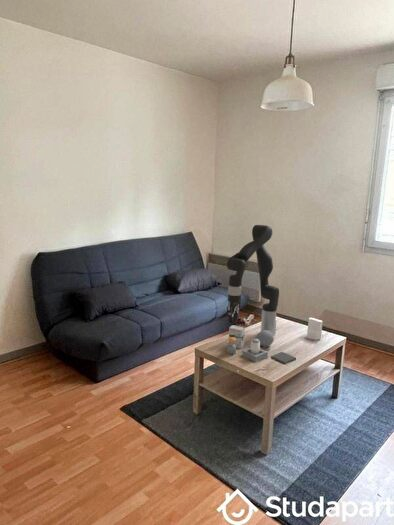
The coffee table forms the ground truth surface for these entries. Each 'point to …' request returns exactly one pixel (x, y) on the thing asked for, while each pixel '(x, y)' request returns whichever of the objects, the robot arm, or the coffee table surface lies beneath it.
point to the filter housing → (247, 353)
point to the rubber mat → (283, 357)
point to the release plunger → (232, 340)
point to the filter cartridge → (255, 346)
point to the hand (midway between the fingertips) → (233, 321)
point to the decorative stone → (265, 338)
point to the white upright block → (314, 328)
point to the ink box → (237, 335)
